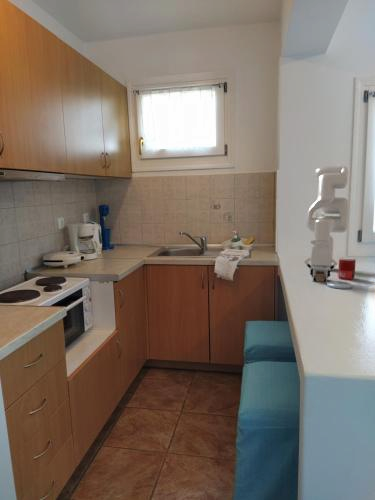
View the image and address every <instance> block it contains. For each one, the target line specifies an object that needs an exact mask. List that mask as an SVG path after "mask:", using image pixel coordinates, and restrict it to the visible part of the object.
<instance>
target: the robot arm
mask: <svg viewBox="0 0 375 500" xmlns="http://www.w3.org/2000/svg"><path fill="white" fill-rule="evenodd" d="M314 175H315V179H316V182H317V194H316V195H317V196H316V200H315V201H314V202H313V203H312V204H311V205H310V207H309V209H308V211H307V213H306V225H305V226H306V230H307V231H308V232H311V233H313V240H311V241H310V244H312V246H311V251H310V257H308V258H307V259H305V260H304V264H305V265H306V266H307V268H309V270H310V271H309V273H310V274H309V276H311V278H313V266H314V265H317V266H327V267H328V273H327V279H329V278H330V277H331V271H334V270H335V269H336V266H337V265H338V262H337V261H336V260H335V259H333V255H334V254H333V253H334V238H333V236H332V235H331V233H335V234H336V233H337V234H338V233H339V234H341V233H346V232H347V230H348V226H349V225H348V224H349V223H348V221H349V201H348V198H346V197H342V196H341V197H336V189H337V190H338V189H339V190H340V189H345V188H346V187H347V185H348V178H349V169H348V167H347V166H344V165H342V166H341V165H340V166H339V165H337V166H336V165H335V166H320V167H318V168H316V169H315V173H314ZM318 210H319V212H320V213H321V214H325V215H321V216H318V217H313V215H314V213H315V212H316V211H318ZM333 215H334V216H333ZM335 215H339V216H335ZM309 262H310V263H309Z"/></svg>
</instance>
